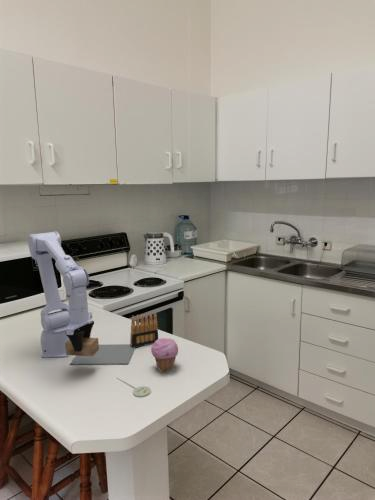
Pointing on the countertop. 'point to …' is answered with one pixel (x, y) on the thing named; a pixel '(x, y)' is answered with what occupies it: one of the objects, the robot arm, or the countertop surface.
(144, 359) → the countertop surface
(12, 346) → the countertop surface
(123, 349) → the mat
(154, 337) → the ammunition clip
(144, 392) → the sign
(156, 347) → the cupcake
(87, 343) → the card box
